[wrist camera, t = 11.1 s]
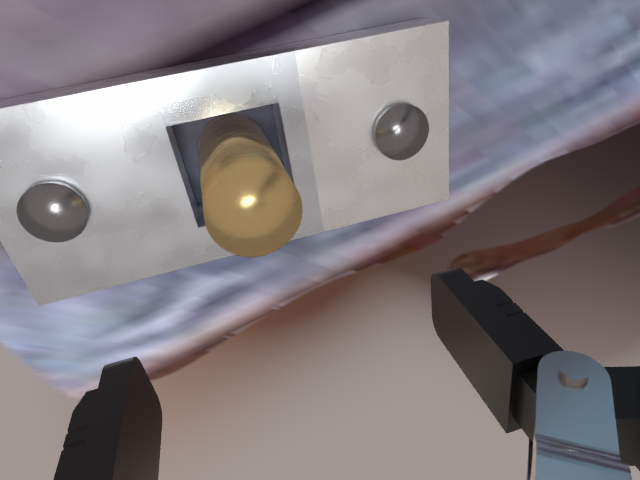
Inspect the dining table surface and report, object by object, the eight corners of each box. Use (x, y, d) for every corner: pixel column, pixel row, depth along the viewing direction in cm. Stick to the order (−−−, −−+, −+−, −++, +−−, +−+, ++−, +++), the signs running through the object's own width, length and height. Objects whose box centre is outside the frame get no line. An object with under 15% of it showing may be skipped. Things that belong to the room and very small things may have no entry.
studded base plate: (422, 17, 25) (454, 21, 22) (426, 181, 30) (453, 203, 27) (-40, 107, 22) (-77, 125, 19) (52, 276, 27) (35, 312, 24)
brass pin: (260, 107, 25) (293, 156, 18) (273, 173, 27) (309, 243, 20) (188, 122, 25) (191, 180, 17) (208, 189, 27) (218, 267, 19)
